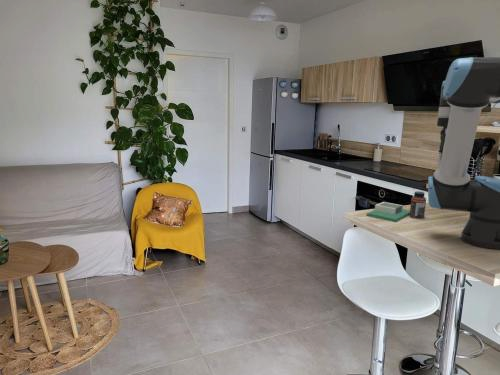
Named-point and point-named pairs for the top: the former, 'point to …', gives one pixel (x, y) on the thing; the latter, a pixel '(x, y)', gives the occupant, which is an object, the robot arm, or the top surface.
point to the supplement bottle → (418, 205)
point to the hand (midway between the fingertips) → (441, 166)
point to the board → (389, 212)
